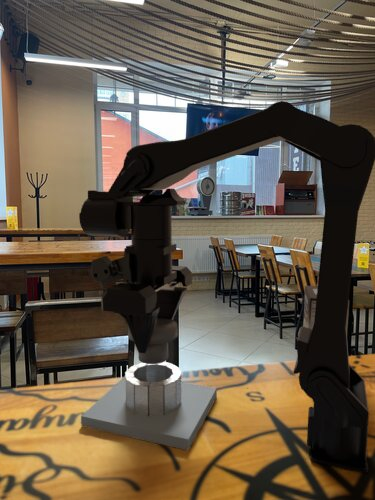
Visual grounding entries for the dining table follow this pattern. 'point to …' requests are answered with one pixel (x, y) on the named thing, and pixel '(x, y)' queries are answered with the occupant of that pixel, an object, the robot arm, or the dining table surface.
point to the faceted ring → (153, 389)
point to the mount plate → (153, 428)
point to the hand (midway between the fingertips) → (153, 342)
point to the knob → (158, 341)
